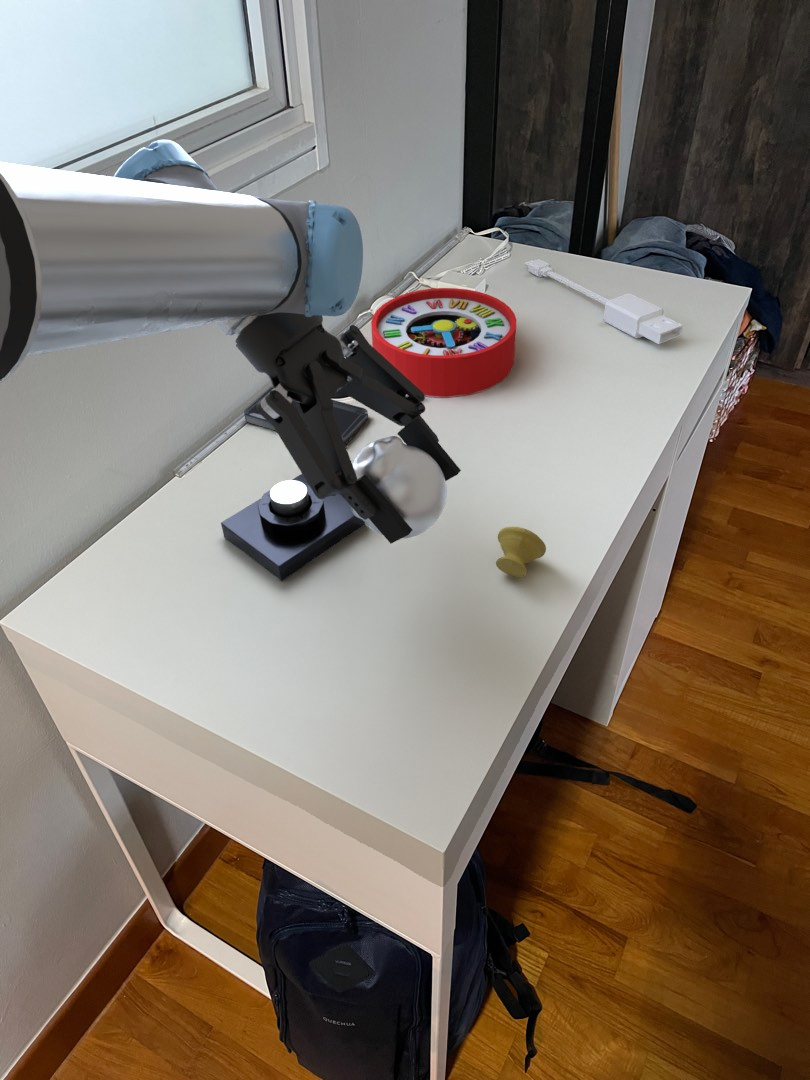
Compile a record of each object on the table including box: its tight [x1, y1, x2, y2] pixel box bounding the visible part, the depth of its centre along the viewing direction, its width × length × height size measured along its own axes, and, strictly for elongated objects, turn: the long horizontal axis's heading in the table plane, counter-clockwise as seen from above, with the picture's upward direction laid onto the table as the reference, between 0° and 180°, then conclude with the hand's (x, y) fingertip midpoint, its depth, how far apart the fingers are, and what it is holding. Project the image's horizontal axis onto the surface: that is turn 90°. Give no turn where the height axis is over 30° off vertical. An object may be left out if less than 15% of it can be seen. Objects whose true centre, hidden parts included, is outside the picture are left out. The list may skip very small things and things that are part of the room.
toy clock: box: [370, 287, 517, 398], centre depth 114 cm, size 20×6×20 cm
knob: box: [495, 526, 547, 578], centre depth 83 cm, size 5×5×5 cm
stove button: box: [269, 479, 310, 518], centre depth 87 cm, size 4×4×2 cm
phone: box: [243, 385, 369, 446], centre depth 106 cm, size 8×1×15 cm
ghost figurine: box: [350, 435, 448, 539], centre depth 77 cm, size 9×10×10 cm
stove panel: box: [220, 473, 366, 582], centre depth 89 cm, size 12×10×4 cm
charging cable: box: [523, 258, 684, 345], centre depth 126 cm, size 5×32×3 cm, turn 31°
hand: (426, 505), depth 76 cm, fingers closed on ghost figurine, 9 cm apart
